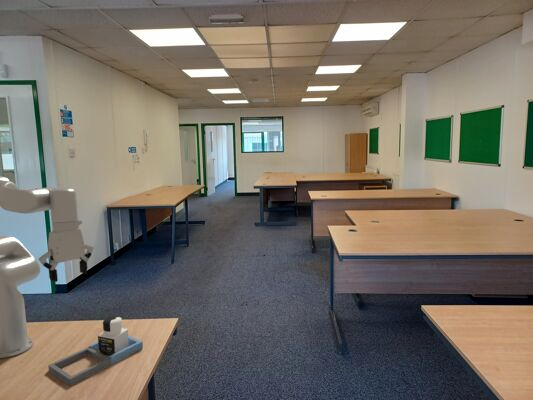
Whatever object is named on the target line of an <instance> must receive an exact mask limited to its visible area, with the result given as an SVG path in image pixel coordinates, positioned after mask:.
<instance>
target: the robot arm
mask: <svg viewBox="0 0 533 400" xmlns="http://www.w3.org/2000/svg"><path fill="white" fill-rule="evenodd" d="M0 207H1V208H2V209H3V210H4V211H7V212H10V213H11V212H13V213H18V214H33V213H34V214H35V213H39V212H45V211H50V216H51V218H50V219H51V229H52V231H50V232H49V233H48V242H47V243H48V244H47V252H45V253H44V254H42V255H41V256H40V257H38V260H37V259H36V257H35V256H34V255H33V254H32V253H31V252H30V251H29V249H27V247H26V246H25V245H24V244H23V243H22V242H21V240H19V239H18V238H16V237H14V236H11V235H0V359H5V358H10V357H11V358H12V357H14V356H17V355H20V354H23V353H25V352H26V351H29V349H31V348H32V346H33V345H34V339H32V338H31V337H28V328H27V327H28V326H27V318H26V317H27V316H26V306H25V305H26V304H25V299H24V295H23V294H22V293H21V291H19V290H18V287H19V286H21V285H23V284H26V283H29V282H31V281H33V280H35V279H36V278H37V277H38V276H39V275H40V273H41V266H40V264H41V265H42V266H43V267H44V268H46V269H47V270H48V277H49V279H50V282H51V281H52V282H54V283H57V282H58V269H56V268H57V266H58V265H59V264H61V263H65V262H69V261H74V260H78V259H79V273H82V274H85V275H86V274H87V273H88V272H87V271H88V262H89V259H90V257H92V254H93V252H94V246H90V245H87V244H85V241H84V236H83V233H82V230H81V228H79V226H81V225H82V223H83V222H82V220H79V219H78V215H79V214H78V204H77V192H76V190H75V189H73V188H67V187H66V188H56V187H51V186H50V187H48V186H47V187H39V188H31V189H30V188H29V189H19V187H18V185H17V184H16V183H14V182H13V181H10V179H8V178H7V177H6V176H2V175H0ZM86 250H87V251H86ZM47 259H48V260H49V261H50V262H49V263H48V261H47ZM39 262H40V263H39Z"/></svg>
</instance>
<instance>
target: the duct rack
mask: <svg viewBox="0 0 533 400" xmlns="http://www.w3.org/2000/svg"><path fill="white" fill-rule="evenodd" d="M128 338H129V346H128V347H126V348H124V349H122V350H120V351H118V352H116V353H114V354H112V355H110V356H105V355H103V354H101V353H99V346H98V341H96V342H94V343H91V344H89V345H88V347H86V348H84V349H81V350H79V351H77V352H75V353H73V354H70V355H68V356H65V357H63V358H61V359H58V360H57V361H54V362H53V363H50V364H48V367H47V368H48V372H50V373H51V374H52V375H54V376H56V377H57V378H58V379H60V380H62V381H63V382H64V383H66V384H67V385H69V386H72V385H75V384H76V383H78V382H80V381H82V380H84V379H86V378H89V377H90V376H92V375H94V374H96V373H98V372H99V371H101V370H103V369H105V368H107V367H109V366H111V365H113V364H115V363H117V362H119V361H121V360H122V359H125V358H126V357H128V356H131V355H132V354H134V353H137V352H138V351H140V350H142V349H143V348H144V347H143V343H144V342H143V341H142V340H140V339H137V338H135V337H133V336H131V335H129V334H128ZM86 356H89V357H91V358H92V359H95V360H96V361H98V363H95V364H93V365H91V366H89V367H87V368H85V369H83V370H81V371H79V372H77V373H75V374H73V375H71V374H69V373H68V372H66V371H64V370H63V369H62V367H65V366H68V365H70V364H72V363H73V362H76V361H78V360H80V359H83V358H84V357H86Z"/></svg>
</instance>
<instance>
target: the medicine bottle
mask: <svg viewBox="0 0 533 400" xmlns="http://www.w3.org/2000/svg"><path fill="white" fill-rule="evenodd" d="M102 329H103V331H102V332H101V333H99V334H98V335H97V342H98V346H99V350H98V352H99V353H101V354H103V355H105V356H107V357H109V356H110V355H112V354H114V353H116V352H118V351H120V350H122V349H124V348H126V347H128V346H130V345H129V338H128V335H129V329H128V328H123V321H122V317H120V316H117V315H116V316H115V315H113V316H109V317H106V318H105V319H103V321H102Z"/></svg>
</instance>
